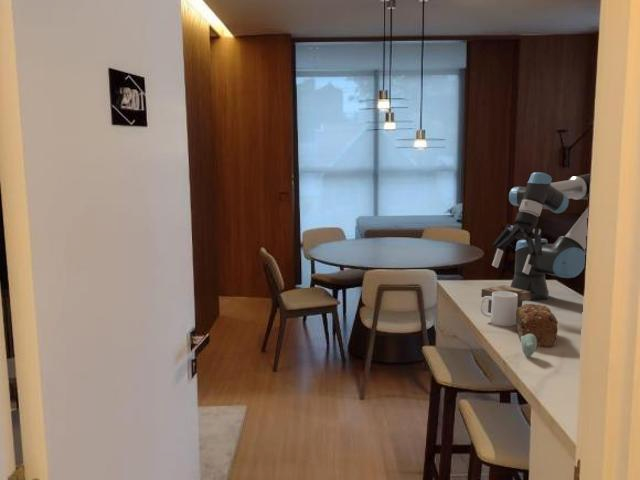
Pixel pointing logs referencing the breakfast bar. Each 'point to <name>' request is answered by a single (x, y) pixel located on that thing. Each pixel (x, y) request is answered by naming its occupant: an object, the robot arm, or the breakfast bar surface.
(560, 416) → the breakfast bar surface
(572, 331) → the breakfast bar surface
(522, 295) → the lid
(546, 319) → the bread
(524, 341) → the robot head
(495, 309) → the cup
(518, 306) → the block
